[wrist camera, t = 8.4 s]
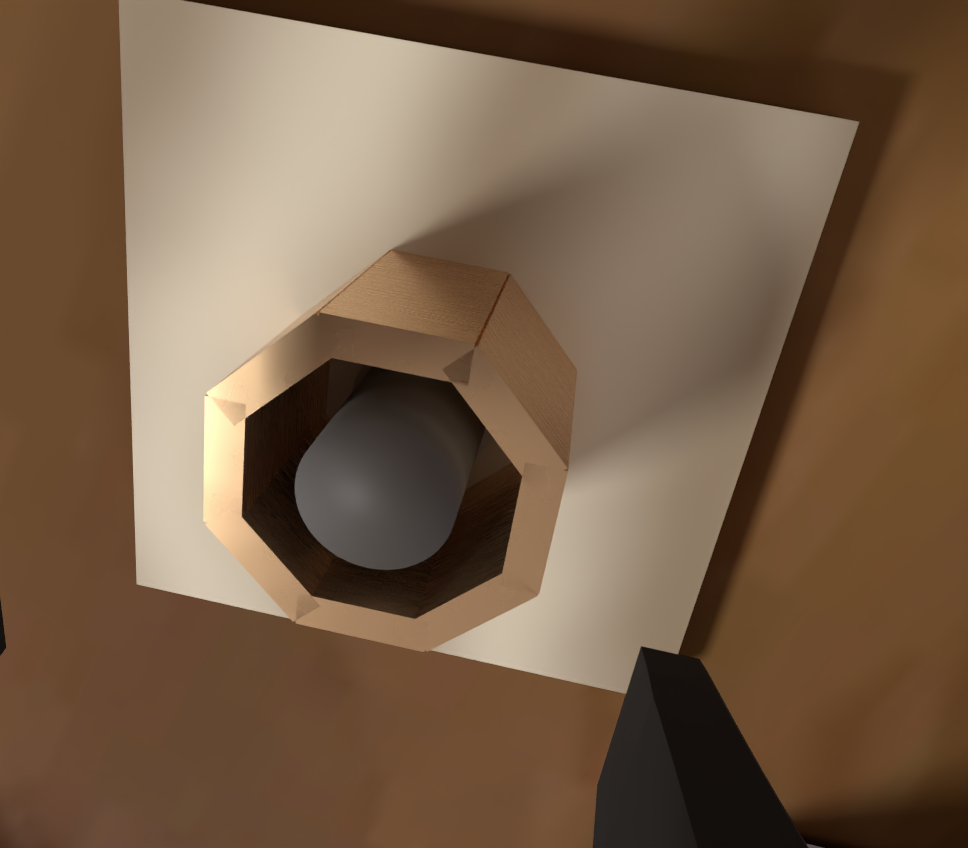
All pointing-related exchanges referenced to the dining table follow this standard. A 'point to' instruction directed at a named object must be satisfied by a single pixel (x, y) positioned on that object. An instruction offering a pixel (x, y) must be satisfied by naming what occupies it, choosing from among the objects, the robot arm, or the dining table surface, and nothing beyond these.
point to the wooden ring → (302, 417)
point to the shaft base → (474, 241)
